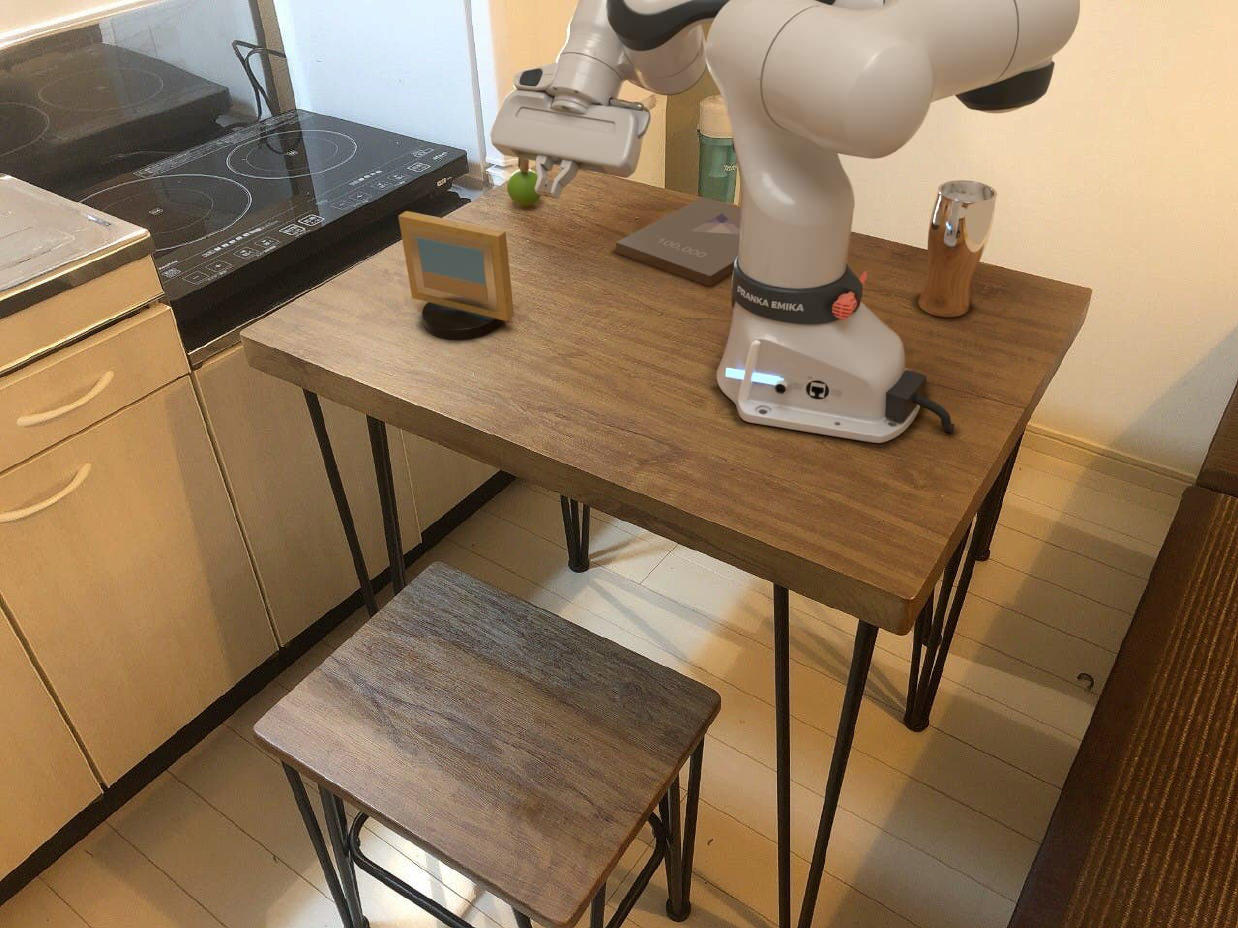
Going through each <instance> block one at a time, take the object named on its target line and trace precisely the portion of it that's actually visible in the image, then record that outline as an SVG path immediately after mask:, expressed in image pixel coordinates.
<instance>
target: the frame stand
mask: <svg viewBox="0 0 1238 928" xmlns="http://www.w3.org/2000/svg"><path fill="white" fill-rule="evenodd" d="M421 316H422V324H423V327H424V329H425V330H426V331H427V332H428V333H429V334H431V335H432V336H434V337H437V338H440V339H445V340H451V341H464V340H472V339H477V338H481V337H484V336H486V335H488V334H490V333H493V332H494V331H496V330H497V329H498V328H500V326H501V325H502V324H503V322H504V320H500V319H496V318H491V317H487V316H483V315H479V314H475V313H471V312H467V311H463V310H458V309H454V308H450V307H446V306H442V305H438V304H434V303H430V302H426V304H425V305H424V306H423V308H422V311H421Z"/></svg>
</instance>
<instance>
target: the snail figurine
mask: <svg viewBox="0 0 1238 928" xmlns="http://www.w3.org/2000/svg"><path fill="white" fill-rule="evenodd" d="M517 160H518V161H517V167H518V169H517V170H515V171H513V172H512V173H511V175H510V176H509V177H508V180H507V183H506V189H507V193H508V196H509V198H510V199H511V201H513V203H515V204H517V205H519V206H522V207H529V206H532V205H535V204H537V202H538V201H539V200H540V199H541V197H542V196H541V195H538V194H537V193H536V192H535V186H536V183H537V180H538V177H537V171H534V170H532V169H530V160H528V159H523V158H517Z"/></svg>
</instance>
